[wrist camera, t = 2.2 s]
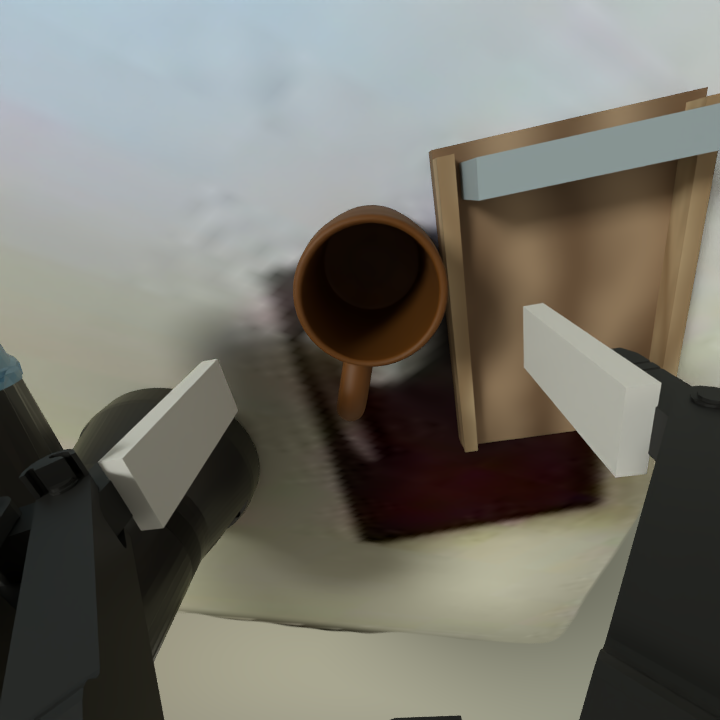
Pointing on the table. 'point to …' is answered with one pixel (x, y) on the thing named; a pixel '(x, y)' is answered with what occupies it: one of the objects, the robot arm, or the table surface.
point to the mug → (369, 295)
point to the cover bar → (592, 154)
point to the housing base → (565, 266)
